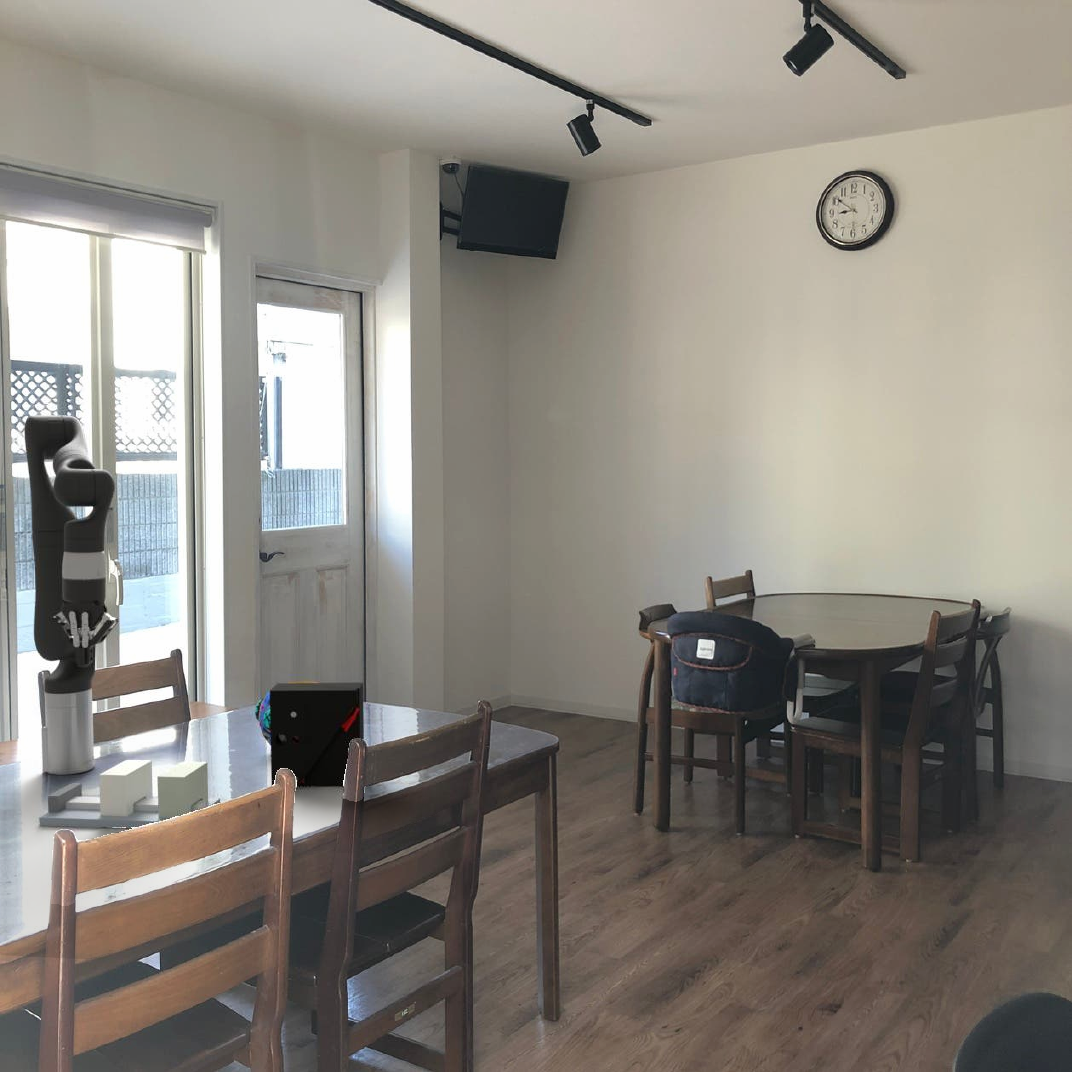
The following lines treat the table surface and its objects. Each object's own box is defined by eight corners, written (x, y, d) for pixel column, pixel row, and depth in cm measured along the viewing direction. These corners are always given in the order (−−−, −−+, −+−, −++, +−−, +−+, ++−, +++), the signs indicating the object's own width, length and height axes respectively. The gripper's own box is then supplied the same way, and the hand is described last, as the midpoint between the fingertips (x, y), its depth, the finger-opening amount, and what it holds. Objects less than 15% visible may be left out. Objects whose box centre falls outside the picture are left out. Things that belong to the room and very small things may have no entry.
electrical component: (365, 774, 224) (364, 680, 223) (359, 789, 214) (358, 690, 213) (281, 775, 223) (279, 681, 222) (270, 790, 213) (268, 691, 212)
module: (100, 815, 193) (99, 774, 193) (127, 798, 203) (126, 759, 203) (126, 816, 193) (125, 775, 192) (152, 799, 202) (151, 760, 202)
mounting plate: (39, 825, 192) (37, 776, 192) (80, 801, 206) (79, 755, 206) (188, 830, 189) (187, 780, 189) (220, 806, 203) (219, 759, 203)
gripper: (127, 574, 204) (127, 664, 205) (62, 571, 206) (62, 660, 207) (107, 579, 197) (107, 672, 198) (39, 575, 198) (39, 668, 199)
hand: (84, 666), depth 202 cm, fingers closed
